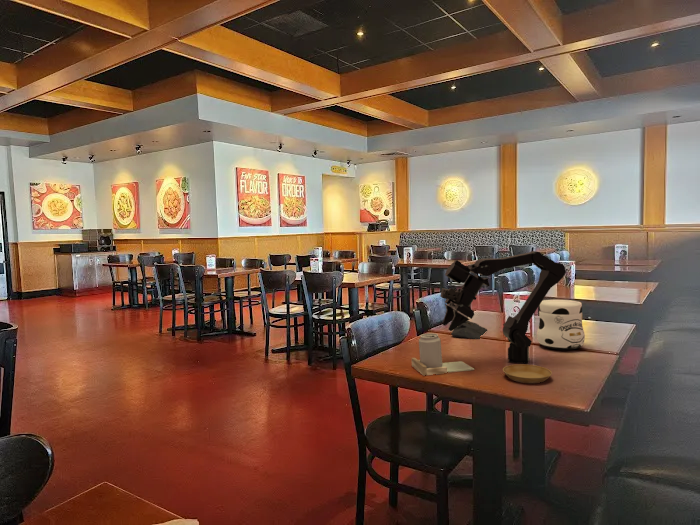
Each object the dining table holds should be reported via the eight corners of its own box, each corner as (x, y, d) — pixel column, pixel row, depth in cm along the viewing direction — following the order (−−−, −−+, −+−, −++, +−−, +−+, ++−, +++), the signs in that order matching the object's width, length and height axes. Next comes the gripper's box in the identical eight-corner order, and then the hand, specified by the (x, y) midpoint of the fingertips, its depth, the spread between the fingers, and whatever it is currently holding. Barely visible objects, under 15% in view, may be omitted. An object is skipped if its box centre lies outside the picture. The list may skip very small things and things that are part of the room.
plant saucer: (558, 377, 156) (558, 369, 156) (541, 389, 145) (541, 380, 145) (514, 369, 166) (514, 361, 166) (495, 380, 155) (494, 372, 155)
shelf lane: (434, 364, 174) (433, 355, 174) (447, 373, 163) (447, 364, 163) (411, 366, 173) (411, 357, 173) (423, 375, 161) (423, 366, 161)
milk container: (579, 355, 180) (579, 307, 179) (531, 349, 191) (531, 303, 190) (589, 345, 194) (589, 300, 193) (544, 340, 205) (543, 298, 203)
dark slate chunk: (445, 338, 215) (445, 328, 215) (456, 328, 235) (456, 319, 235) (481, 341, 209) (480, 330, 209) (488, 330, 229) (488, 320, 229)
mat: (461, 362, 176) (461, 361, 176) (474, 369, 166) (474, 368, 166) (435, 364, 174) (435, 363, 174) (446, 372, 164) (446, 371, 164)
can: (442, 372, 164) (439, 337, 163) (420, 372, 165) (417, 337, 164) (442, 365, 171) (440, 331, 170) (421, 365, 172) (418, 332, 172)
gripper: (444, 276, 181) (422, 311, 182) (457, 281, 163) (432, 321, 163) (469, 291, 182) (447, 326, 183) (485, 298, 163) (460, 337, 164)
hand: (446, 327), depth 173 cm, fingers open, 9 cm apart
